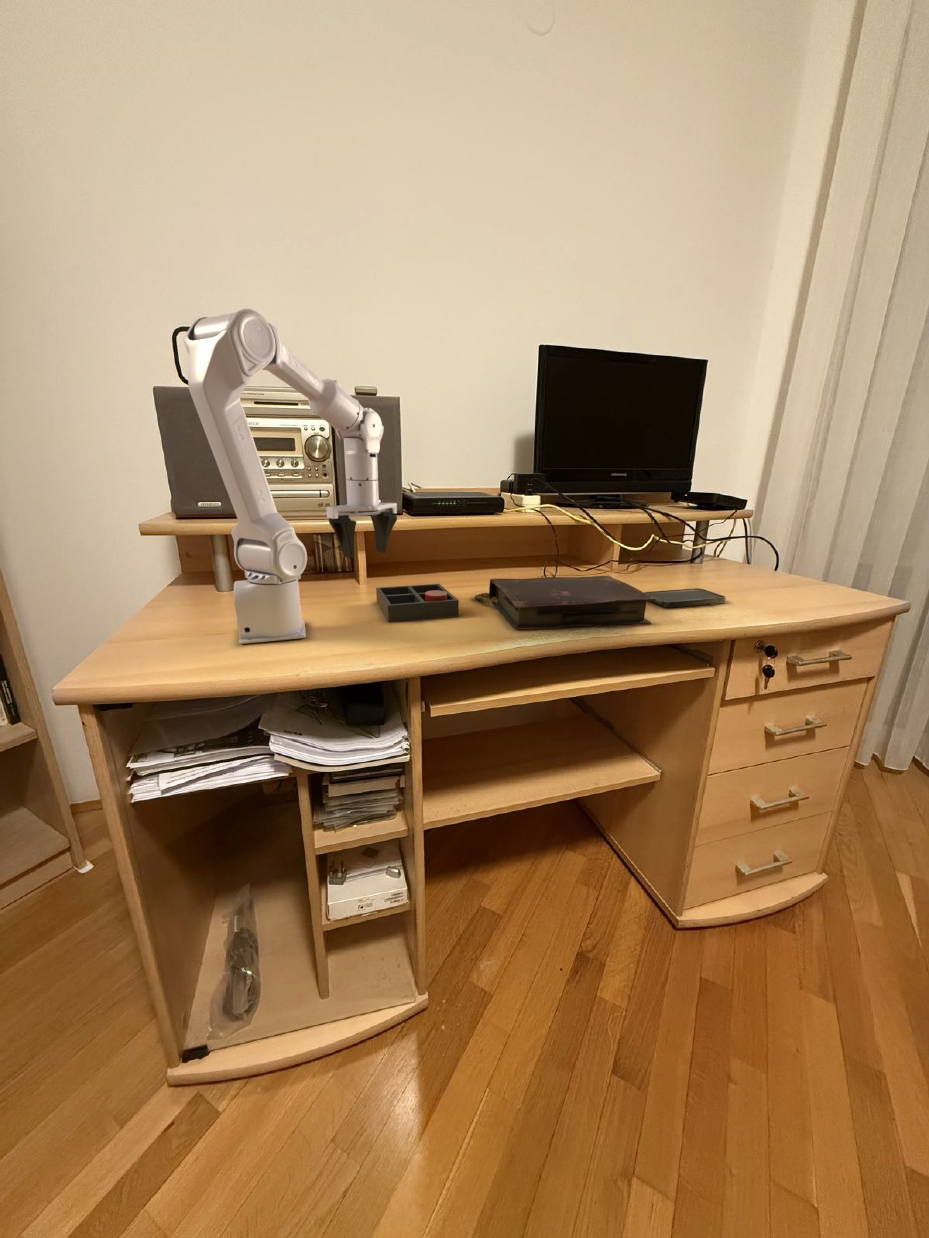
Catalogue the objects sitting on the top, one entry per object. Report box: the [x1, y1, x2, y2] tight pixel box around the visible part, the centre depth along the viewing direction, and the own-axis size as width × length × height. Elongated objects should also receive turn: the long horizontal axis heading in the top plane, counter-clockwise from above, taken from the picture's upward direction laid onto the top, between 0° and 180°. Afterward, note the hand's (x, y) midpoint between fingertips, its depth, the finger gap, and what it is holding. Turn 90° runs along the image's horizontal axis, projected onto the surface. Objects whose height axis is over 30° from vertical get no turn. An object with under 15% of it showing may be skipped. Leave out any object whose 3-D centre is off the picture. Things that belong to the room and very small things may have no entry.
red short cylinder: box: [425, 590, 447, 602], centre depth 89 cm, size 4×4×3 cm
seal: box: [474, 592, 498, 608], centre depth 97 cm, size 9×5×15 cm
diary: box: [488, 575, 655, 630], centre depth 90 cm, size 19×25×5 cm
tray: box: [375, 583, 460, 623], centre depth 91 cm, size 13×13×3 cm
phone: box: [643, 587, 727, 608], centre depth 100 cm, size 8×1×15 cm
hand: (365, 554), depth 93 cm, fingers open, 7 cm apart
